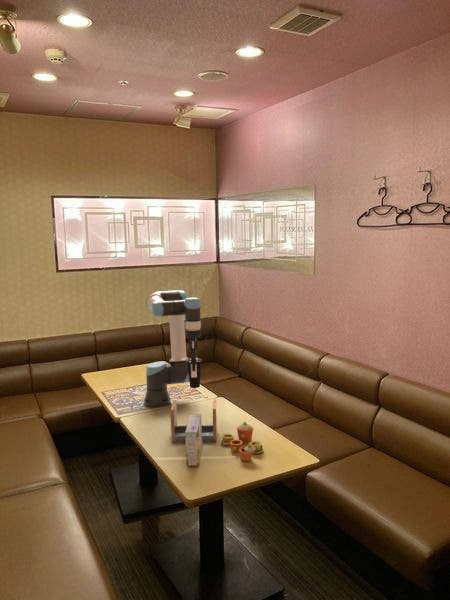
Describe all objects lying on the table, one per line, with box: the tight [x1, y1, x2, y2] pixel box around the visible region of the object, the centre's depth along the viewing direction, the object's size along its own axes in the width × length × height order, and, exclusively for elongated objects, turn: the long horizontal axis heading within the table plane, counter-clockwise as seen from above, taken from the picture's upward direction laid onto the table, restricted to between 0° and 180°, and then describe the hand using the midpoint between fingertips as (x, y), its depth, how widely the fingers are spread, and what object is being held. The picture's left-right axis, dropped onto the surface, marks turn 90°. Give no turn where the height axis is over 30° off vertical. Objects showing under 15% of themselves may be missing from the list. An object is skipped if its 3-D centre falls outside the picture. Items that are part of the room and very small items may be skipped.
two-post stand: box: [170, 398, 218, 444], centre depth 230 cm, size 13×21×16 cm, turn 91°
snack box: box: [185, 413, 204, 467], centre depth 210 cm, size 21×6×15 cm, turn 178°
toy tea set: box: [219, 421, 264, 462], centre depth 216 cm, size 26×16×10 cm, turn 24°
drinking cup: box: [186, 356, 203, 389], centre depth 238 cm, size 8×8×20 cm
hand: (194, 375), depth 238 cm, fingers closed on drinking cup, 6 cm apart
